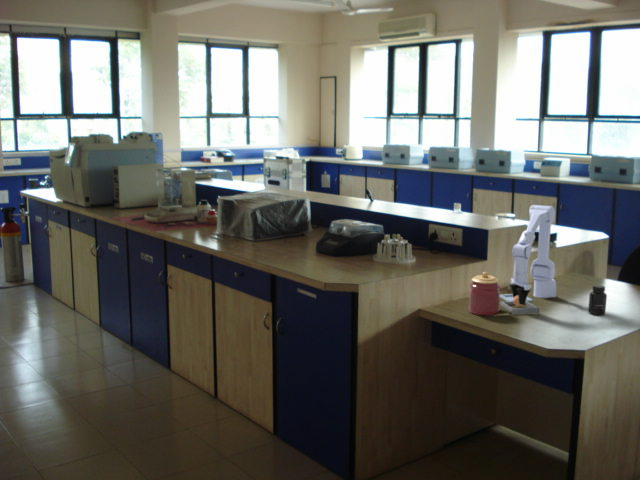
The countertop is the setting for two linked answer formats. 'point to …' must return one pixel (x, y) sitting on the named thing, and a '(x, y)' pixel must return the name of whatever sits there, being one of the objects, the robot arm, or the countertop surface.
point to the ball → (517, 301)
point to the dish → (510, 298)
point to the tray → (520, 310)
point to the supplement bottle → (597, 300)
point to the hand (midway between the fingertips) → (519, 302)
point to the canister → (484, 295)
